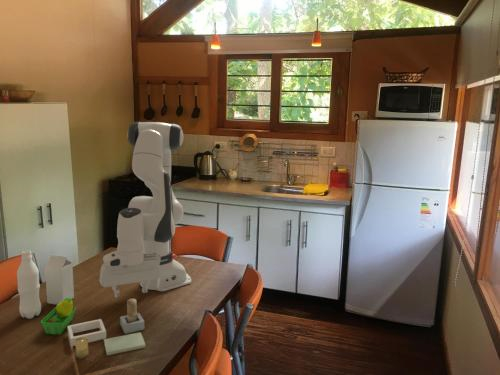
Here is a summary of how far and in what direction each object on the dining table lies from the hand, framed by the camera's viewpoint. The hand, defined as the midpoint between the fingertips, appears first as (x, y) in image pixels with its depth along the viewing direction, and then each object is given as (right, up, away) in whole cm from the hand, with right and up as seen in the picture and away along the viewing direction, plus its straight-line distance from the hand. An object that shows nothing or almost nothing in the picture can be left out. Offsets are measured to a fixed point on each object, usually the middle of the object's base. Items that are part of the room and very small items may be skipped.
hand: (131, 294), depth 146 cm
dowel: (0, -12, +3) cm, 13 cm away
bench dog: (-11, -16, -14) cm, 24 cm away
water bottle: (-40, -11, +10) cm, 43 cm away
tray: (-14, -14, -3) cm, 20 cm away
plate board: (0, -16, -8) cm, 18 cm away
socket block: (0, -13, +3) cm, 14 cm away
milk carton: (-34, -8, +23) cm, 42 cm away
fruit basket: (-25, -13, +3) cm, 29 cm away
